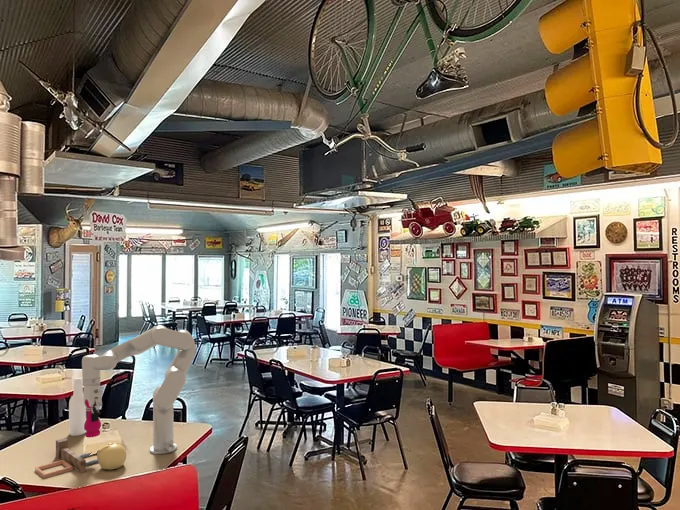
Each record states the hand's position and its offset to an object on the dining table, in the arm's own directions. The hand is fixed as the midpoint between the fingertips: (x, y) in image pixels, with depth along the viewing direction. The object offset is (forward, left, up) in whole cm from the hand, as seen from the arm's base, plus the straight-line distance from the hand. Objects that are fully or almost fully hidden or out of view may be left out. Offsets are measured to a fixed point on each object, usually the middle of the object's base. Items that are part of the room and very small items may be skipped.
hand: (92, 419), depth 236 cm
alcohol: (+43, -9, -19) cm, 48 cm away
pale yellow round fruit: (-16, -3, -19) cm, 25 cm away
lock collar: (0, +16, -19) cm, 25 cm away
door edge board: (+2, +8, -19) cm, 21 cm away
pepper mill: (0, 0, -8) cm, 8 cm away
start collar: (0, 0, -19) cm, 19 cm away
